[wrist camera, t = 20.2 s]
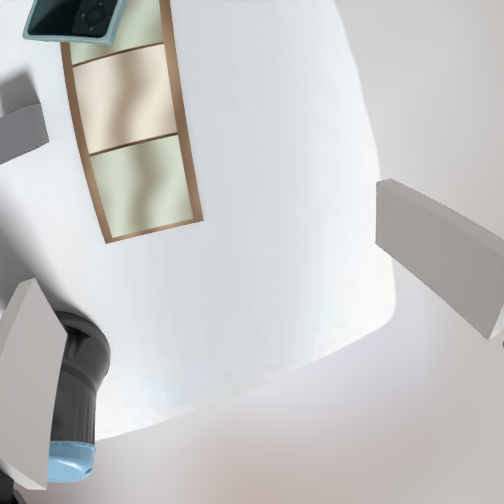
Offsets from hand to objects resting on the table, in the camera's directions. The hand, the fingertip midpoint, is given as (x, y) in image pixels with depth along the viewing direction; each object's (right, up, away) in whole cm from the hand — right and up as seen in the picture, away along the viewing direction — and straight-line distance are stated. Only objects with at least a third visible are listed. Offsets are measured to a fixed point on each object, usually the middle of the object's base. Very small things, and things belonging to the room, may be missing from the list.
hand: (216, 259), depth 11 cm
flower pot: (-16, +26, +14) cm, 34 cm away
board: (-13, +18, +20) cm, 30 cm away
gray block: (-25, +15, +18) cm, 34 cm away
